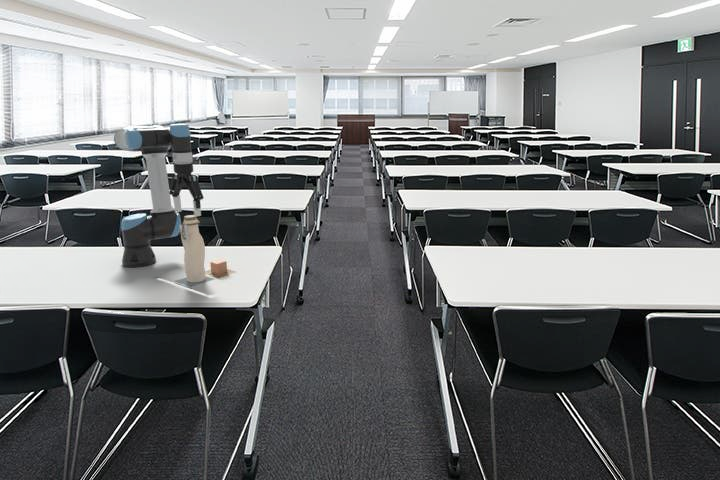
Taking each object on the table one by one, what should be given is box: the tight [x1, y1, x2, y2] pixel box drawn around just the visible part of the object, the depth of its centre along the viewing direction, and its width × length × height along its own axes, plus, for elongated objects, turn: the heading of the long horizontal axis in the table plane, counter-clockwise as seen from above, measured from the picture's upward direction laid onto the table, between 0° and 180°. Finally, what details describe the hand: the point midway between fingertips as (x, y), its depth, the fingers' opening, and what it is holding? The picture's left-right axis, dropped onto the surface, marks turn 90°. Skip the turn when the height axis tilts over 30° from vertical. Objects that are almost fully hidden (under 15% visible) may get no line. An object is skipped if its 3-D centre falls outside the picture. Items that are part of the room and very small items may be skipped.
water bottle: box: [180, 214, 207, 282], centre depth 221 cm, size 10×9×28 cm
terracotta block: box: [209, 258, 228, 275], centre depth 234 cm, size 5×5×5 cm
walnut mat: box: [205, 268, 237, 278], centre depth 235 cm, size 12×10×1 cm
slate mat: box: [174, 275, 215, 290], centre depth 225 cm, size 12×12×1 cm
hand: (187, 213), depth 217 cm, fingers open, 13 cm apart
